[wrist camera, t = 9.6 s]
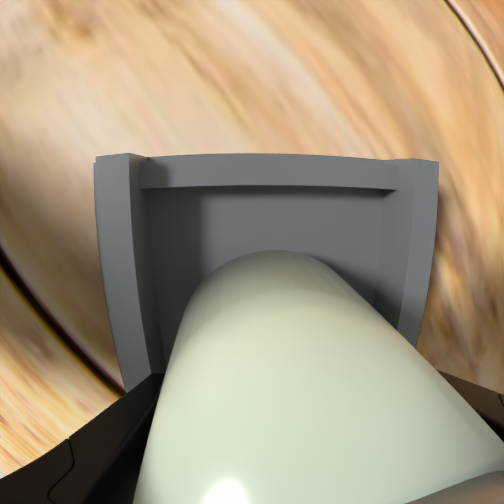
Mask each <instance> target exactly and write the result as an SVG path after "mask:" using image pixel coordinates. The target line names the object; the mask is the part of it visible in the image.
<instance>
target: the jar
mask: <svg viewBox="0 0 504 504" xmlns="http://www.w3.org/2000/svg"><path fill="white" fill-rule="evenodd" d="M133 504H504V442H503V441H502V440H501V439H500V438H499V437H498V436H497V434H496V433H495V432H494V431H493V430H492V429H491V428H490V427H489V426H488V424H487V423H486V422H485V421H484V420H483V419H482V418H481V417H480V416H479V415H478V414H477V412H476V411H475V410H474V409H473V408H472V407H471V406H470V405H469V404H468V403H467V402H466V401H465V400H464V399H463V397H462V396H461V395H460V394H459V393H458V392H457V391H456V390H455V389H454V388H453V387H452V386H451V385H450V384H449V383H448V382H447V381H446V380H445V379H444V378H443V377H442V376H441V375H440V373H439V372H438V371H437V370H436V369H435V368H434V367H433V366H432V365H431V364H430V363H429V362H428V361H427V360H426V359H425V358H424V357H423V356H422V355H421V354H420V353H419V352H418V351H417V350H416V349H415V348H414V347H413V346H412V345H411V344H410V343H409V342H408V341H407V340H406V339H405V338H404V337H403V336H402V335H401V334H400V333H399V332H398V331H397V330H396V329H395V328H394V327H393V326H392V325H391V324H389V323H388V322H387V321H386V320H385V319H384V318H383V317H382V316H381V315H380V314H379V313H378V312H377V311H376V310H375V309H374V308H373V307H372V306H371V305H370V304H369V303H368V302H367V301H366V300H364V299H363V298H362V297H361V296H360V295H359V294H358V293H357V292H356V291H355V290H354V289H353V288H352V287H351V286H350V285H349V284H348V283H346V282H345V281H344V280H343V279H342V278H341V277H340V276H339V275H338V274H337V273H336V272H335V271H333V270H332V269H331V268H330V267H329V266H327V265H326V264H324V263H323V262H321V261H319V260H317V259H315V258H313V257H311V256H308V255H304V254H301V253H298V252H292V251H285V250H268V251H259V252H254V253H250V254H246V255H243V256H240V257H237V258H235V259H233V260H231V261H229V262H227V263H225V264H223V265H222V266H220V267H219V268H217V269H216V270H214V271H213V272H212V273H211V274H209V275H208V276H207V277H206V278H205V279H204V280H203V281H202V282H201V283H200V284H199V286H198V287H197V288H196V289H195V291H194V292H193V294H192V296H191V297H190V299H189V301H188V303H187V305H186V308H185V310H184V313H183V317H182V320H181V323H180V326H179V330H178V333H177V336H176V340H175V343H174V346H173V350H172V353H171V357H170V360H169V363H168V367H167V370H166V374H165V377H164V381H163V384H162V388H161V392H160V395H159V399H158V403H157V406H156V410H155V414H154V417H153V421H152V425H151V429H150V433H149V437H148V441H147V445H146V449H145V453H144V457H143V461H142V465H141V469H140V473H139V478H138V482H137V486H136V491H135V495H134V500H133Z"/></svg>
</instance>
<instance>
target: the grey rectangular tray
mask: <svg viewBox="0 0 504 504" xmlns="http://www.w3.org/2000/svg"><path fill="white" fill-rule="evenodd" d="M438 177H439V162H435V161H428V160H421V159H414V158H412V159H395V160H376V159H366V158H353V157H340V156H323V155H302V154H198V155H177V156H161V157H144V156H140V155H135V154H131V153H125V154H115V155H107V156H98V157H96V163H94V194H95V212H96V226H97V237H98V247H99V256H100V265H101V272H102V280H103V286H104V293H105V299H106V305H107V311H108V316H109V321H110V327H111V332H112V336H113V341H114V346H115V350H116V355H117V359H118V363H119V367H120V371H121V375H122V379H123V383H124V386H125V390H126V393H127V392H129V391H130V390H131V389H133V388H134V387H135V386H136V385H138V384H139V383H140V382H141V381H143V380H144V379H145V378H147V377H148V376H149V375H150V374H152V373H166V370H167V367H168V363H169V360H170V357H171V353H172V350H173V346H174V343H175V340H176V336H177V333H178V330H179V326H180V323H181V320H182V317H183V313H184V310H185V308H186V305H187V303H188V301H189V299H190V297H191V296H192V294H193V292H194V291H195V289H196V288H197V287H198V286H199V284H200V283H201V282H202V281H203V280H204V279H205V278H206V277H207V276H208V275H209V274H211V273H212V272H213V271H214V270H216V269H217V268H219V267H220V266H222V265H223V264H225V263H227V262H229V261H231V260H233V259H235V258H237V257H240V256H243V255H246V254H250V253H254V252H259V251H268V250H285V251H292V252H298V253H301V254H304V255H308V256H311V257H313V258H315V259H317V260H319V261H321V262H323V263H324V264H326V265H327V266H329V267H330V268H331V269H332V270H333V271H335V272H336V273H337V274H338V275H339V276H340V277H341V278H342V279H343V280H344V281H345V282H346V283H348V284H349V285H350V286H351V287H352V288H353V289H354V290H355V291H356V292H357V293H358V294H359V295H360V296H361V297H362V298H363V299H364V300H366V301H367V302H368V303H369V304H370V305H371V306H372V307H373V308H374V309H375V310H376V311H377V312H378V313H379V314H380V315H381V316H382V317H383V318H384V319H385V320H386V321H387V322H388V323H389V324H391V325H392V326H393V327H394V328H395V329H396V330H397V331H398V332H399V333H400V334H401V335H402V336H403V337H404V338H405V339H406V340H407V341H408V342H409V343H410V344H411V345H412V346H413V347H414V348H415V349H416V345H417V340H418V336H419V332H420V327H421V323H422V318H423V313H424V308H425V303H426V298H427V292H428V286H429V280H430V273H431V266H432V259H433V250H434V241H435V231H436V219H437V204H438Z"/></svg>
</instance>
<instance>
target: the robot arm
mask: <svg viewBox="0 0 504 504" xmlns="http://www.w3.org/2000/svg"><path fill="white" fill-rule="evenodd" d="M436 370H437V369H436ZM437 371H438V372H439V373H440V375H441V376H442V377H443V378H444V379H445V380H446V381H447V382H448V383H449V384H450V385H451V386H452V387H453V388H454V389H455V390H456V391H457V392H458V393H459V394H460V395H461V396H462V397H463V399H464V400H465V401H466V402H467V403H468V404H469V405H470V406H471V407H472V408H473V409H474V410H475V411H476V412H477V414H478V415H479V416H480V417H481V418H482V419H483V420H484V421H485V422H486V423H487V424H488V426H489V427H490V428H491V429H492V430H493V431H494V432H495V433H496V434H497V436H498V437H499V438H500V439H501V440H502V441H503V442H504V395H503V394H501V393H497V392H495V391H492V390H489V389H487V388H484V387H481V386H478V385H476V384H473V383H470V382H468V381H465V380H462V379H460V378H457V377H455V376H452V375H449V374H447V373H444V372H442V371H439V370H437ZM165 374H166V373H152V374H150V375H149V376H148V377H147V378H145V379H144V380H143V381H141V382H140V383H139V384H138V385H136V386H135V387H134V388H133V389H131V390H130V391H129V392H127V393H126V394H125V395H124V396H122V397H121V398H120V399H118V400H117V401H116V402H114V403H113V404H112V405H111V406H109V407H108V408H107V409H105V410H104V411H103V412H101V413H100V414H99V415H98V416H96V417H95V418H94V419H92V420H91V421H90V422H88V423H87V424H86V425H84V426H83V427H82V428H80V429H79V430H78V431H76V432H75V433H74V434H72V435H71V436H70V437H69V439H65V440H64V441H63V442H61V443H60V444H59V445H57V446H56V447H54V448H53V449H51V450H50V451H48V452H47V453H45V454H44V455H43V456H41V457H39V458H38V459H36V460H34V461H32V462H31V463H29V464H27V465H26V466H24V467H22V468H20V469H18V470H16V471H14V472H13V473H11V474H9V475H7V476H5V477H3V478H1V479H0V504H133V500H134V495H135V491H136V486H137V482H138V478H139V473H140V469H141V465H142V461H143V457H144V453H145V449H146V445H147V441H148V437H149V433H150V429H151V425H152V421H153V417H154V414H155V410H156V406H157V403H158V399H159V395H160V392H161V388H162V384H163V381H164V377H165Z"/></svg>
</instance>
